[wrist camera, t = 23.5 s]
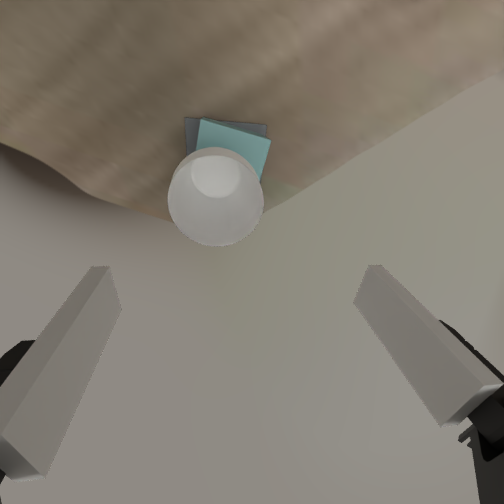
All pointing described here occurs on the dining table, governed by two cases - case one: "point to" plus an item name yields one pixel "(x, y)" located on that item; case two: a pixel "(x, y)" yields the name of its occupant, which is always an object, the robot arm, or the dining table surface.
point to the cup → (215, 197)
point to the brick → (234, 141)
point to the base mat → (194, 123)
